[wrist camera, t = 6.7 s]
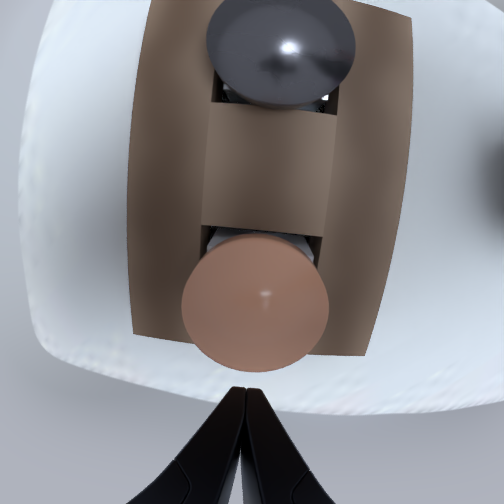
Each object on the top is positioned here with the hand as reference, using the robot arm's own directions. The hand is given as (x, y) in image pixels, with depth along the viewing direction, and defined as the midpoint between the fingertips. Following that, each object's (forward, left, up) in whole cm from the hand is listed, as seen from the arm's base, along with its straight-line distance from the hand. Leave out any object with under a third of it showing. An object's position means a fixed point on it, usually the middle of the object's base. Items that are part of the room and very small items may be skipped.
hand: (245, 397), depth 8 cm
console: (0, -6, -12) cm, 13 cm away
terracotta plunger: (0, 0, -10) cm, 10 cm away
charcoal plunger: (0, -12, -11) cm, 16 cm away
